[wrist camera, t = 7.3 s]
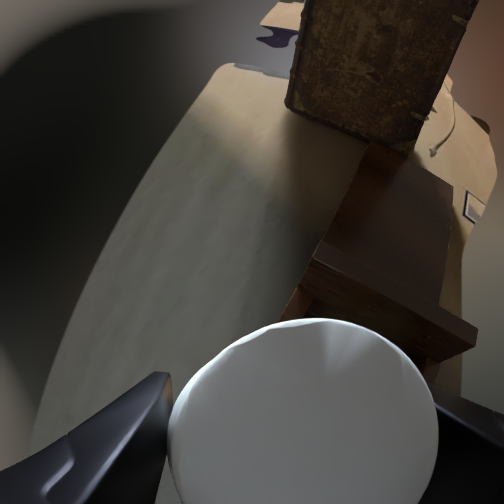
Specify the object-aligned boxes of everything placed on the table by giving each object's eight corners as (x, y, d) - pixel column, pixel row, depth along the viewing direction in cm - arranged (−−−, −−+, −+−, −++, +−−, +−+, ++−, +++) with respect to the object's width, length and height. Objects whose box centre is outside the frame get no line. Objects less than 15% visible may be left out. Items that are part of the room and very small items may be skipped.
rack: (369, 474, 16) (433, 486, 10) (225, 409, 18) (227, 400, 12) (447, 194, 31) (479, 149, 24) (366, 149, 33) (388, 96, 26)
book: (277, 108, 35) (311, -87, 14) (298, 88, 39) (332, -77, 18) (405, 166, 32) (492, -23, 11) (411, 138, 36) (480, -22, 15)
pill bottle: (212, 362, 14) (199, 248, 6) (328, 392, 14) (467, 321, 5) (176, 472, 11) (97, 542, 3) (300, 501, 11) (420, 580, 2)
